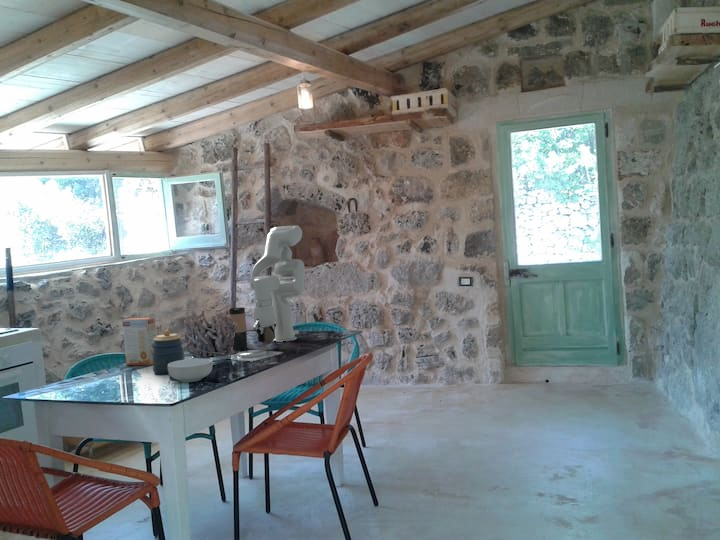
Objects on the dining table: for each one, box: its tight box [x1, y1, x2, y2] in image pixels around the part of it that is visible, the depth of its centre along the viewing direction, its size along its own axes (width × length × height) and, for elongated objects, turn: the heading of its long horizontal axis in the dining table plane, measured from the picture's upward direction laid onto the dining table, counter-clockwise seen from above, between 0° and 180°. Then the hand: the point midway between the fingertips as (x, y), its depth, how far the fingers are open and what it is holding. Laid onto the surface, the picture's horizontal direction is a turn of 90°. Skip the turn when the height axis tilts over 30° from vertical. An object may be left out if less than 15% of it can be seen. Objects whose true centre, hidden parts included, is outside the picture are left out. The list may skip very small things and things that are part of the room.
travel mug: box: [228, 307, 248, 351], centre depth 315 cm, size 8×8×20 cm
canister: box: [151, 329, 186, 376], centre depth 268 cm, size 13×13×18 cm
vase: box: [260, 327, 274, 345], centre depth 310 cm, size 7×7×9 cm
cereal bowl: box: [168, 358, 214, 383], centre depth 249 cm, size 17×17×7 cm
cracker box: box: [122, 317, 157, 367], centre depth 290 cm, size 14×6×21 cm, turn 65°
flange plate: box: [230, 349, 284, 363], centre depth 292 cm, size 20×20×2 cm
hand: (266, 339), depth 310 cm, fingers closed on vase, 6 cm apart
